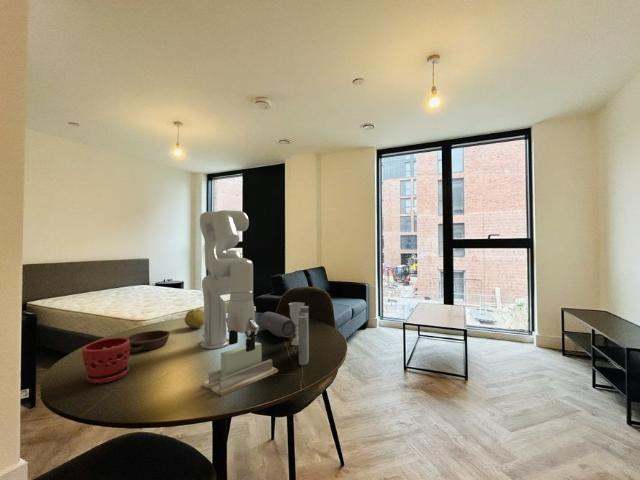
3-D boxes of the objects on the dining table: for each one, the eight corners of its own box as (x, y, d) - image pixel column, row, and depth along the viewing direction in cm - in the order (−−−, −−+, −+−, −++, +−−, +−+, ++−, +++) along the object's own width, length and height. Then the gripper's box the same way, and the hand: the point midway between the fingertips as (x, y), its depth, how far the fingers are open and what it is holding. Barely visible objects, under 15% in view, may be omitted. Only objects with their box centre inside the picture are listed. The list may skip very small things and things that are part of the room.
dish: (111, 355, 124) (111, 343, 125) (146, 338, 146) (146, 328, 147) (151, 355, 123) (151, 343, 123) (180, 339, 145) (180, 328, 145)
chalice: (306, 341, 139) (305, 302, 139) (303, 346, 132) (303, 305, 132) (290, 341, 140) (290, 302, 140) (287, 345, 133) (287, 305, 133)
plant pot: (102, 370, 109) (102, 336, 109) (138, 370, 108) (138, 336, 108) (71, 387, 96) (71, 349, 96) (112, 387, 95) (112, 349, 95)
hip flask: (299, 350, 127) (298, 302, 127) (308, 350, 127) (308, 302, 128) (298, 365, 111) (298, 311, 112) (309, 364, 111) (309, 310, 112)
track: (202, 385, 96) (202, 372, 96) (258, 364, 112) (258, 353, 113) (221, 396, 89) (221, 382, 89) (278, 371, 105) (277, 360, 105)
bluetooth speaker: (258, 331, 157) (258, 311, 157) (274, 328, 162) (274, 309, 163) (279, 342, 139) (279, 320, 139) (297, 338, 144) (296, 317, 144)
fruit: (179, 330, 159) (179, 311, 159) (192, 325, 171) (192, 307, 171) (198, 331, 157) (198, 312, 157) (210, 325, 169) (210, 307, 169)
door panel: (221, 381, 96) (220, 352, 96) (256, 367, 107) (256, 342, 107) (226, 383, 94) (226, 355, 94) (261, 369, 105) (261, 343, 105)
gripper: (217, 294, 104) (217, 344, 104) (247, 301, 93) (247, 356, 93) (236, 292, 110) (236, 338, 110) (266, 297, 98) (266, 350, 98)
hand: (241, 347), depth 101 cm, fingers open, 9 cm apart
